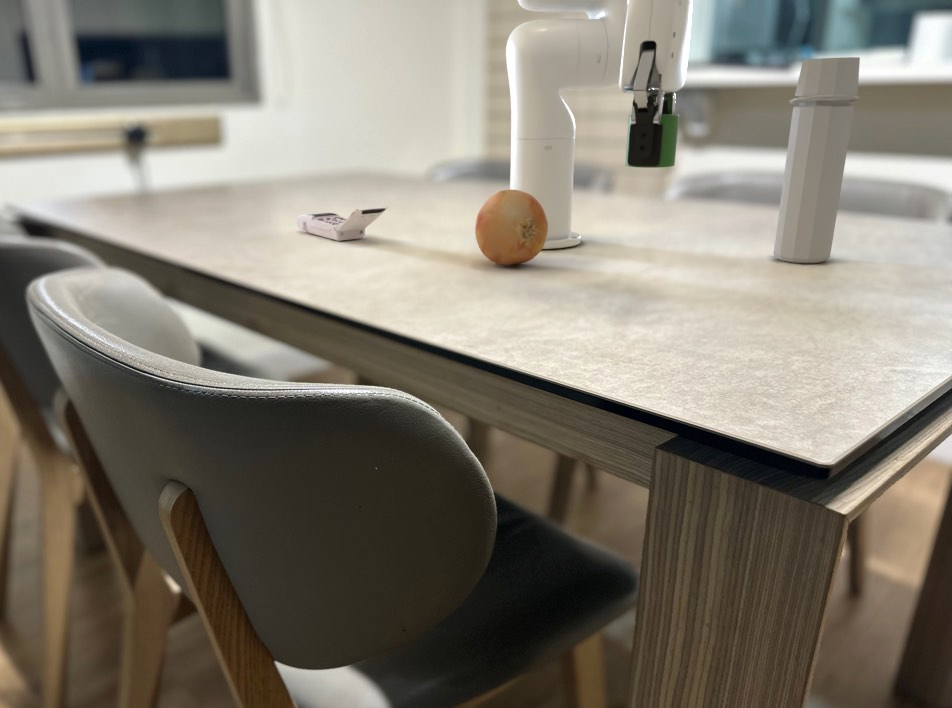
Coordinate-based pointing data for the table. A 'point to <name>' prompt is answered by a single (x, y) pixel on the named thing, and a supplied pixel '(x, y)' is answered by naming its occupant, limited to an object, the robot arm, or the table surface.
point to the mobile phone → (339, 224)
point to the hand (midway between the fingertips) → (649, 161)
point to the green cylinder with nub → (663, 141)
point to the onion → (511, 227)
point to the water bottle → (816, 158)
